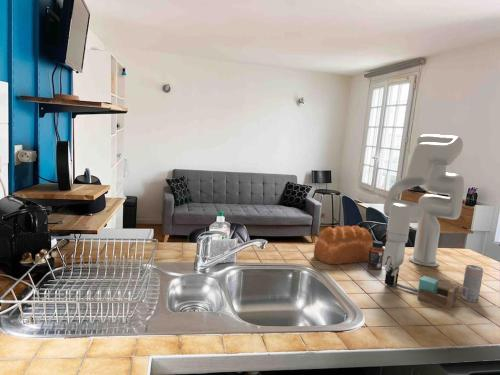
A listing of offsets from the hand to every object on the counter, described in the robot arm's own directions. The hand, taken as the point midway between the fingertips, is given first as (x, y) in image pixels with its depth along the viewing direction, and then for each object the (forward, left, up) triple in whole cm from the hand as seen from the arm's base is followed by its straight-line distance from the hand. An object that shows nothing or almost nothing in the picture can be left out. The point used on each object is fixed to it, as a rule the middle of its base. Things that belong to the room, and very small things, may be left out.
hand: (390, 283), depth 142 cm
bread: (-14, -27, -1) cm, 30 cm away
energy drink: (-11, +24, -1) cm, 27 cm away
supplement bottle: (-15, -13, -1) cm, 20 cm away
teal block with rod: (0, +7, 0) cm, 7 cm away
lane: (0, +16, -1) cm, 16 cm away
